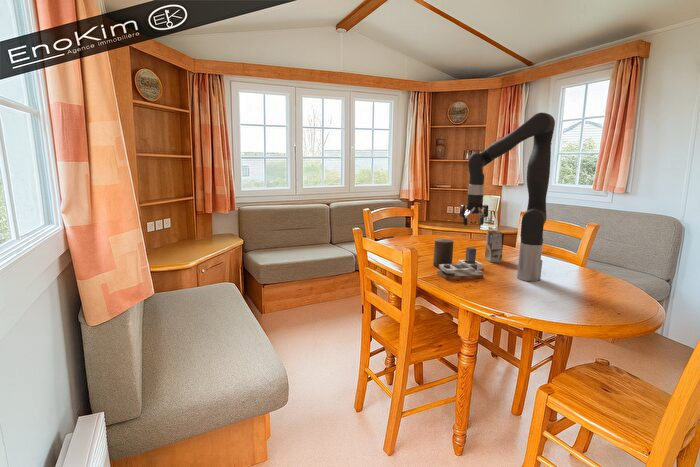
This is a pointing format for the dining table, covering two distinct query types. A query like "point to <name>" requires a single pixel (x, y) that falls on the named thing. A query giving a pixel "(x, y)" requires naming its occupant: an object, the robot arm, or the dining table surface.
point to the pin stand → (479, 265)
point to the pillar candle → (443, 252)
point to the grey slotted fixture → (459, 271)
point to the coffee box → (494, 246)
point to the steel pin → (470, 255)
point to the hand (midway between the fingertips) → (473, 225)
